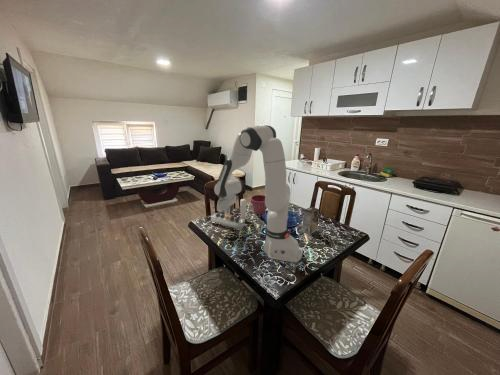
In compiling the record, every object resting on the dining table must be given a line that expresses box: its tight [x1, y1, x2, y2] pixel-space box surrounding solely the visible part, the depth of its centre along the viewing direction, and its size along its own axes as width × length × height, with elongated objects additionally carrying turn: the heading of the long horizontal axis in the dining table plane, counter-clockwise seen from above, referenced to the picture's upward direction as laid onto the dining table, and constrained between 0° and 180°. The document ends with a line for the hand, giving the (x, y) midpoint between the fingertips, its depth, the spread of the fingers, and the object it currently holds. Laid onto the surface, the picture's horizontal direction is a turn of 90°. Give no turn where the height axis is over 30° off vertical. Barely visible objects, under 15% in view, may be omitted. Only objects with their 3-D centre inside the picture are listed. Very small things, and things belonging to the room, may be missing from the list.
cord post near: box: [239, 198, 247, 221], centre depth 155 cm, size 4×4×16 cm
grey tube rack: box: [210, 212, 246, 231], centre depth 150 cm, size 25×8×7 cm, turn 65°
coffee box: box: [301, 206, 320, 236], centre depth 140 cm, size 9×6×16 cm
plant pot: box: [250, 194, 267, 216], centre depth 168 cm, size 14×14×13 cm
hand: (227, 212), depth 148 cm, fingers closed
